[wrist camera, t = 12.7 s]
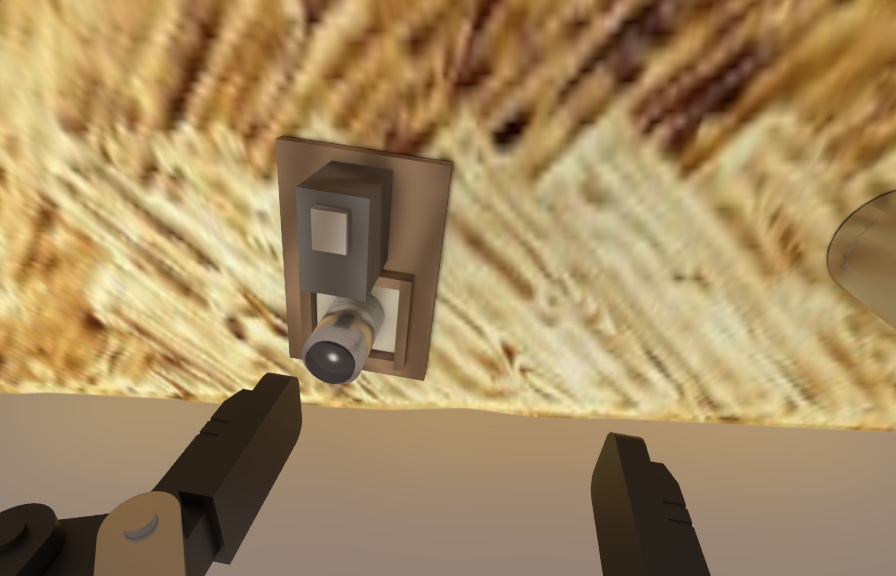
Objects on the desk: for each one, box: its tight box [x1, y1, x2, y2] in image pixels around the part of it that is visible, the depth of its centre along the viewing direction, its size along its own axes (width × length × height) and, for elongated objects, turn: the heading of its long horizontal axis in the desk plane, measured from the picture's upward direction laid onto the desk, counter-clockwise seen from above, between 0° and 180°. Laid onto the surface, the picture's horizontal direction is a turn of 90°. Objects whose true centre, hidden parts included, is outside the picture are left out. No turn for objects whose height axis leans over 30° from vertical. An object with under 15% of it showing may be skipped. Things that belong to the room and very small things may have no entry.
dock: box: [276, 136, 453, 381], centre depth 38 cm, size 14×22×9 cm, turn 173°
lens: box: [302, 294, 385, 384], centre depth 40 cm, size 5×5×8 cm
